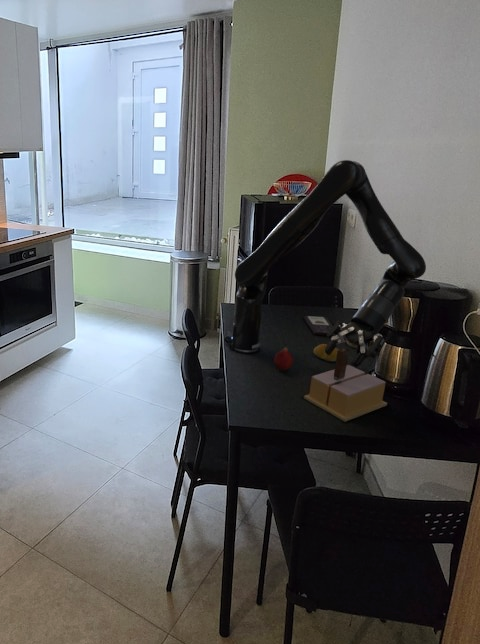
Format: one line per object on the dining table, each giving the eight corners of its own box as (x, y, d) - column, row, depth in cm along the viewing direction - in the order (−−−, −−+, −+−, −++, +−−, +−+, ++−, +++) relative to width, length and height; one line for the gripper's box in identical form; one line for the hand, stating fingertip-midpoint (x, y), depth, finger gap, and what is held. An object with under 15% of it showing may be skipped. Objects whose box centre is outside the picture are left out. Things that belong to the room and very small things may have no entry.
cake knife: (333, 405, 136) (342, 352, 131) (328, 402, 137) (336, 349, 132) (341, 403, 137) (349, 350, 132) (335, 400, 139) (344, 347, 134)
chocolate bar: (315, 332, 186) (304, 316, 203) (314, 334, 187) (304, 318, 204) (339, 333, 185) (326, 317, 202) (339, 336, 186) (326, 319, 203)
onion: (282, 376, 154) (285, 353, 152) (269, 368, 159) (271, 346, 157) (295, 372, 157) (298, 349, 154) (282, 365, 162) (285, 343, 159)
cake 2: (362, 353, 172) (364, 340, 170) (340, 343, 181) (341, 330, 179) (383, 347, 176) (384, 333, 174) (360, 337, 184) (361, 324, 183)
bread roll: (335, 364, 162) (336, 353, 161) (310, 355, 169) (311, 345, 168) (346, 357, 167) (348, 347, 166) (321, 349, 174) (323, 339, 173)
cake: (344, 421, 129) (349, 397, 127) (303, 398, 141) (306, 375, 139) (387, 405, 138) (391, 382, 135) (344, 384, 149) (348, 362, 147)
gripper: (346, 298, 138) (313, 343, 137) (393, 314, 127) (357, 363, 125) (355, 313, 142) (323, 356, 141) (402, 329, 131) (367, 377, 129)
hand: (339, 359), depth 133 cm, fingers open, 8 cm apart
